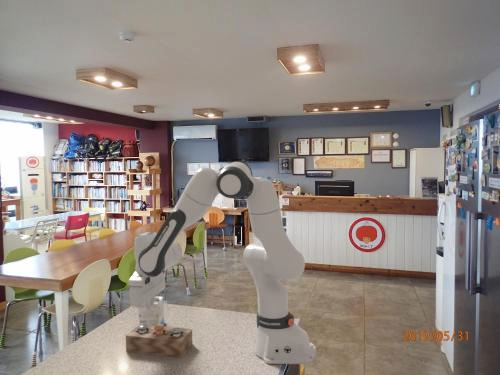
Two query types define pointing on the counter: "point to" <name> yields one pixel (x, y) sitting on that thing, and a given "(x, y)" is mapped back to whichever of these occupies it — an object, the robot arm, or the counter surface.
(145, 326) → the grey plug far
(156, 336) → the block
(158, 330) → the terracotta plug
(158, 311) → the ink box
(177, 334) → the grey plug near
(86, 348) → the counter surface
